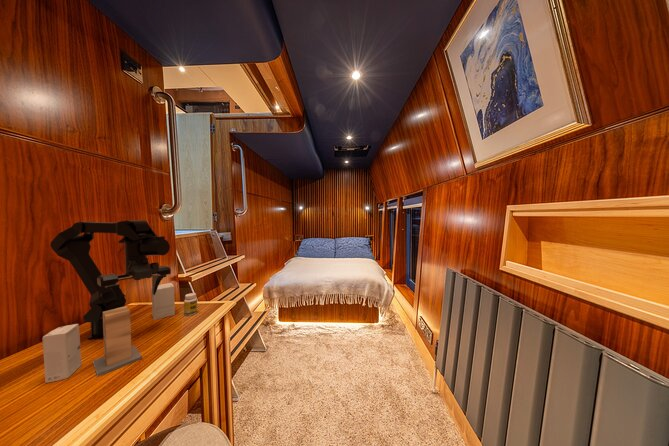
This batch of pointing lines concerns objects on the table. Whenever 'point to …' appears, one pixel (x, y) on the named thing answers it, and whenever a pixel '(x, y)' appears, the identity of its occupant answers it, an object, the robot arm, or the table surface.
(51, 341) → the skincare box
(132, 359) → the slate coaster
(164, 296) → the supplement box
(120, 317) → the oak block
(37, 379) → the table surface
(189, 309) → the supplement bottle
